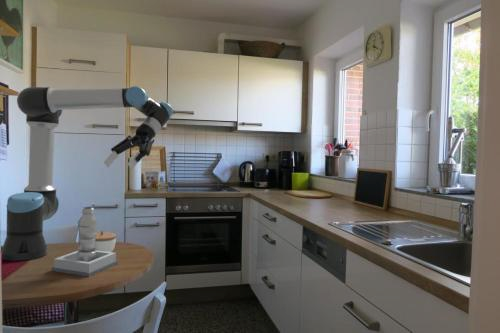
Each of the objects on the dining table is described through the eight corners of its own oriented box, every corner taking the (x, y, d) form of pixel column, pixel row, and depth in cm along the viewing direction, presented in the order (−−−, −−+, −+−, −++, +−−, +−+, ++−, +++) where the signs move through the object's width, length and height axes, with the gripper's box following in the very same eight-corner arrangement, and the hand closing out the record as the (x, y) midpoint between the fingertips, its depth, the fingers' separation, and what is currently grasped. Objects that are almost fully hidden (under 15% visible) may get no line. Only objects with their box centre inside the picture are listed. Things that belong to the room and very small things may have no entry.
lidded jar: (95, 260, 132) (96, 235, 132) (81, 254, 138) (81, 230, 138) (121, 254, 140) (121, 231, 140) (106, 249, 147) (107, 227, 147)
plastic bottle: (92, 260, 129) (94, 205, 128) (99, 264, 124) (101, 208, 123) (73, 263, 124) (75, 207, 124) (79, 268, 119) (81, 210, 119)
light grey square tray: (51, 270, 119) (51, 259, 119) (83, 258, 133) (83, 248, 133) (89, 276, 115) (89, 264, 115) (117, 263, 129) (117, 252, 129)
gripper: (174, 137, 145) (145, 174, 132) (132, 136, 157) (102, 170, 145) (165, 123, 140) (135, 160, 128) (123, 123, 153) (91, 157, 140)
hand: (117, 165), depth 136 cm, fingers open, 13 cm apart
